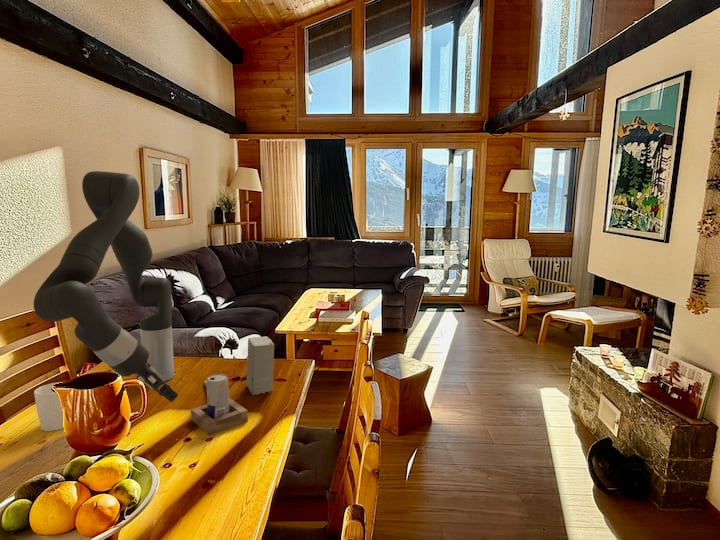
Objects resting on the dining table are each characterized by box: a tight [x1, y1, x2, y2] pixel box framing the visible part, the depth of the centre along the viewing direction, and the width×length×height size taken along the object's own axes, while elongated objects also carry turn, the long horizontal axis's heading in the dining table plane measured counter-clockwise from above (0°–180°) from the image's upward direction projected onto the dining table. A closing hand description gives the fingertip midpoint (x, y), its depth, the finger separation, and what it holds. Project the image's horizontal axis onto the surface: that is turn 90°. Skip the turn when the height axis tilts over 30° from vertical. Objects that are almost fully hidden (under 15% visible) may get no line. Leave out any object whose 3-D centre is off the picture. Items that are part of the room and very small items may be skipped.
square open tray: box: [190, 397, 249, 436], centre depth 112 cm, size 11×11×3 cm
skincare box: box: [246, 335, 275, 396], centre depth 131 cm, size 8×7×16 cm
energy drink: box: [206, 373, 230, 419], centre depth 111 cm, size 5×5×12 cm
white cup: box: [33, 381, 64, 432], centre depth 108 cm, size 8×8×10 cm
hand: (167, 391), depth 104 cm, fingers open, 8 cm apart
